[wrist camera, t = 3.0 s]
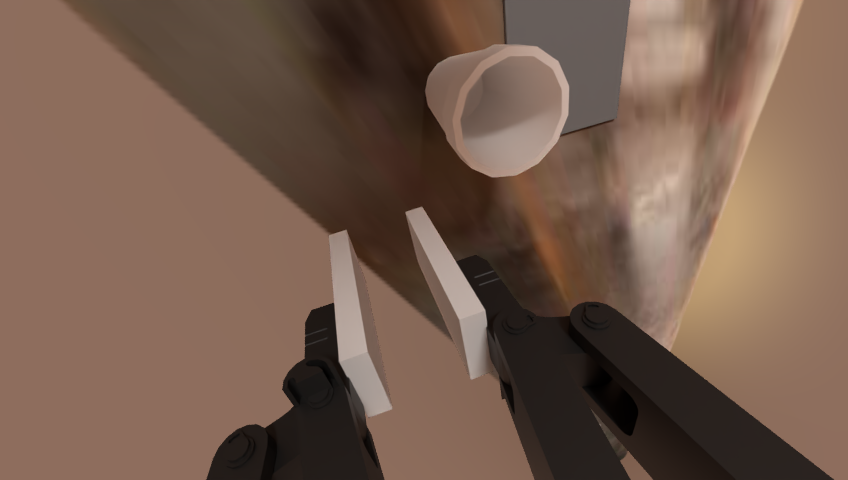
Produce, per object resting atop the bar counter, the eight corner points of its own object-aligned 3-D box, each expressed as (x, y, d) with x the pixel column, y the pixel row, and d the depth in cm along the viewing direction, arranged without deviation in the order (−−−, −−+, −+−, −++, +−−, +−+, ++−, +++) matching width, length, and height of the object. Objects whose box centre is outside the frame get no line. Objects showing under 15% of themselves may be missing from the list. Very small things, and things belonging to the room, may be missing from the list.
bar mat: (502, -15, 33) (504, -16, 33) (632, -46, 35) (635, -46, 34) (510, 147, 42) (512, 148, 42) (614, 117, 44) (616, 118, 43)
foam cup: (511, 67, 37) (592, 84, 26) (469, 147, 41) (526, 192, 30) (435, 19, 33) (494, 17, 22) (395, 113, 36) (430, 150, 26)
